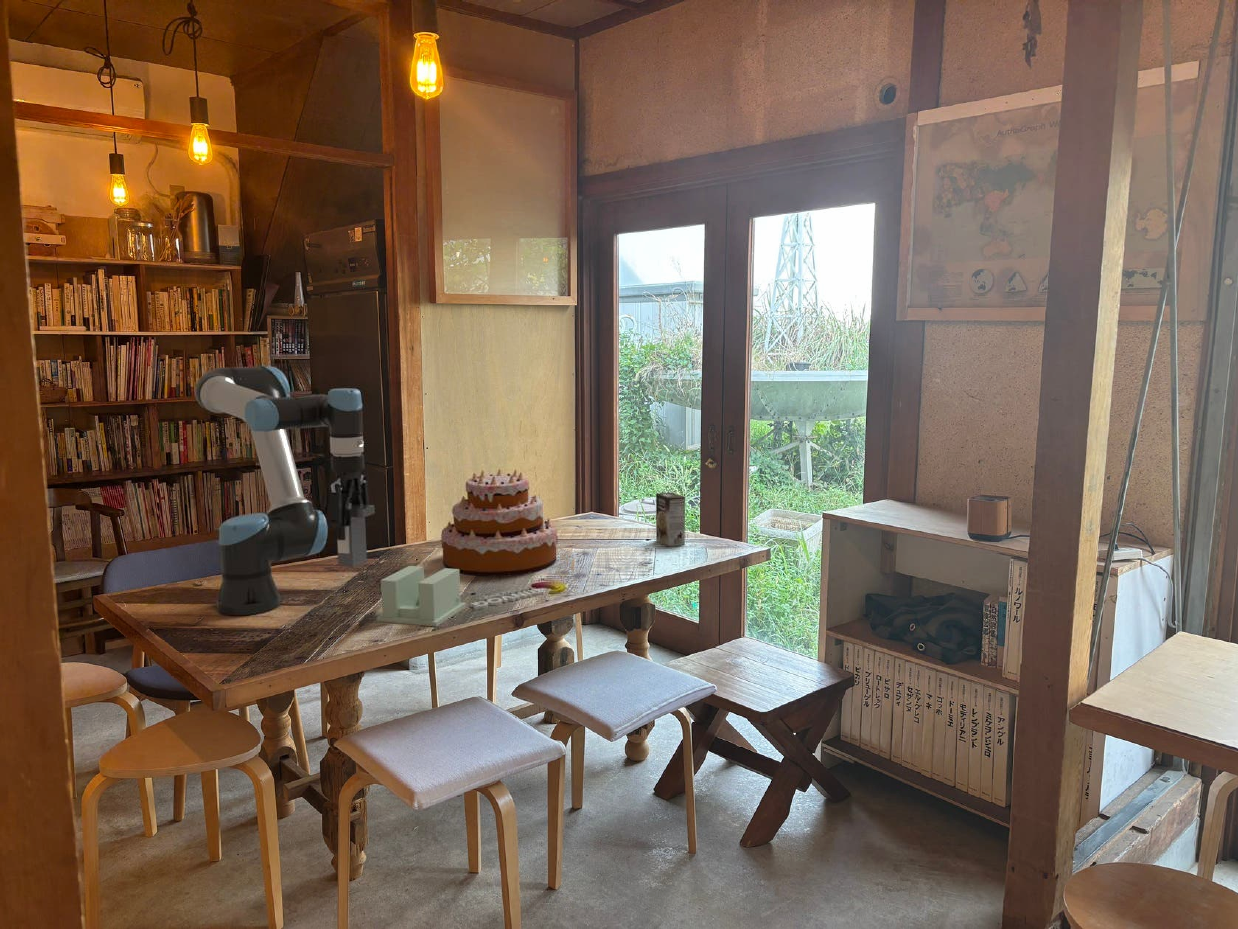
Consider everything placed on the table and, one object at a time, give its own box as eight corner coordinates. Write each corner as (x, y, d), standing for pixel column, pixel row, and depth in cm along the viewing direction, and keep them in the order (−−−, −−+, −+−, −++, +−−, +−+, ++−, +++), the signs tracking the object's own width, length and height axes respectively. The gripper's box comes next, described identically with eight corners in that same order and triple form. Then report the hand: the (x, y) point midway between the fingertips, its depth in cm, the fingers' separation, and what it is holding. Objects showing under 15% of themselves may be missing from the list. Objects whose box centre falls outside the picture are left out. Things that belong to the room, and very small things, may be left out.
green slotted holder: (376, 621, 218) (374, 581, 217) (409, 602, 233) (407, 564, 232) (436, 626, 214) (434, 585, 212) (465, 606, 229) (464, 568, 228)
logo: (551, 579, 251) (572, 586, 243) (551, 583, 251) (572, 591, 244) (458, 599, 232) (478, 608, 225) (458, 604, 233) (478, 613, 225)
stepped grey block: (338, 565, 214) (335, 508, 212) (352, 559, 220) (349, 503, 218) (364, 567, 213) (361, 509, 210) (377, 561, 218) (375, 504, 216)
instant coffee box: (655, 541, 299) (655, 493, 297) (672, 539, 302) (672, 491, 300) (668, 546, 291) (668, 497, 289) (685, 544, 294) (685, 496, 291)
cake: (572, 569, 264) (571, 476, 260) (454, 582, 252) (450, 484, 248) (539, 544, 297) (537, 460, 293) (432, 554, 284) (429, 467, 280)
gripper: (338, 460, 203) (343, 560, 206) (382, 449, 221) (386, 541, 224) (309, 459, 205) (314, 558, 208) (355, 448, 223) (359, 539, 226)
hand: (352, 549), depth 216 cm, fingers closed on stepped grey block, 6 cm apart
